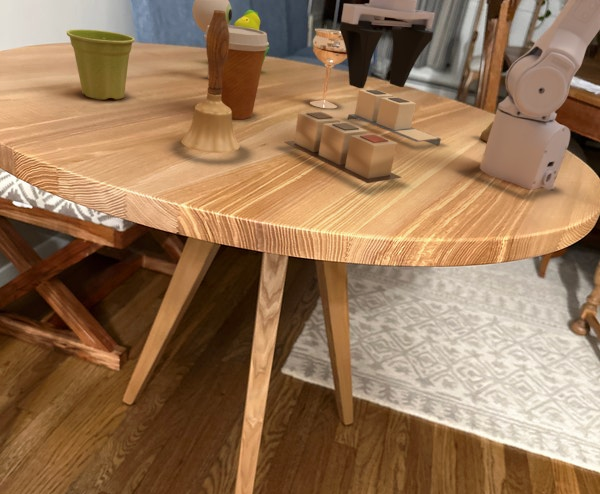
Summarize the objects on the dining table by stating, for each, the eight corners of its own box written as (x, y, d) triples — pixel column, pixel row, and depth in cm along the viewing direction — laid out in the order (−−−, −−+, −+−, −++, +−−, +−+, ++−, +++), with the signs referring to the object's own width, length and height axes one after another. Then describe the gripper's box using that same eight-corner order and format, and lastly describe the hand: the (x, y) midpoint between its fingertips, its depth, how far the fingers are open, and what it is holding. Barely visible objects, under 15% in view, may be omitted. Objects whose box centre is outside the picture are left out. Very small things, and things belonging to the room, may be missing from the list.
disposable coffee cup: (273, 121, 88) (281, 37, 81) (216, 123, 83) (221, 33, 76) (244, 105, 94) (250, 26, 88) (191, 105, 89) (193, 22, 83)
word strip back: (439, 144, 89) (448, 111, 86) (414, 148, 85) (423, 113, 82) (372, 118, 98) (378, 87, 95) (347, 120, 94) (352, 88, 92)
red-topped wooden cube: (390, 175, 69) (397, 141, 67) (367, 179, 67) (374, 144, 65) (367, 164, 72) (373, 132, 70) (344, 167, 69) (350, 134, 67)
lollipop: (221, 84, 105) (226, -6, 97) (184, 78, 106) (186, -13, 98) (232, 78, 111) (238, -8, 103) (198, 72, 112) (201, -14, 104)
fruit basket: (205, 63, 122) (208, 4, 116) (235, 61, 128) (239, 6, 122) (243, 75, 116) (248, 13, 110) (272, 72, 122) (278, 15, 116)
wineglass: (303, 98, 105) (313, 27, 98) (339, 102, 105) (351, 32, 99) (305, 106, 99) (315, 31, 93) (343, 111, 100) (356, 37, 93)
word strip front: (400, 184, 70) (409, 143, 67) (365, 191, 66) (374, 148, 64) (316, 145, 80) (321, 108, 77) (282, 148, 76) (287, 110, 73)
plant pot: (87, 85, 92) (83, 26, 87) (144, 94, 91) (143, 36, 87) (59, 96, 84) (54, 33, 79) (122, 107, 83) (120, 43, 79)
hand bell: (248, 146, 75) (259, 13, 67) (237, 166, 68) (248, 19, 60) (186, 137, 75) (190, 2, 67) (169, 155, 68) (170, 7, 60)
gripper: (414, -30, 74) (392, 78, 82) (332, -43, 66) (316, 79, 73) (457, -24, 70) (429, 90, 77) (375, -37, 62) (353, 93, 69)
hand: (377, 86), depth 75 cm, fingers open, 7 cm apart
